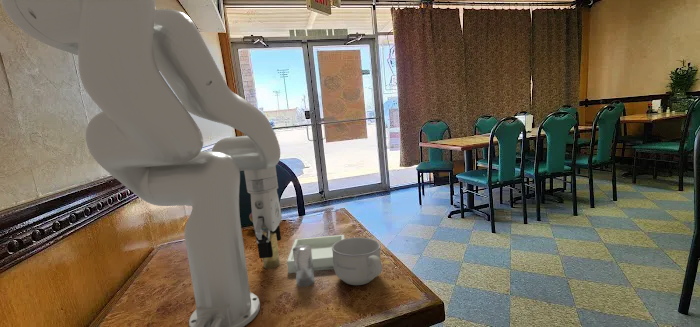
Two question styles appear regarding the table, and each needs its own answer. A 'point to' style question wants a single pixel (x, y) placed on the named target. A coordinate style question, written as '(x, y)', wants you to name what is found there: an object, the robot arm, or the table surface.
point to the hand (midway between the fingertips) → (271, 248)
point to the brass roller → (273, 260)
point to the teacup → (357, 260)
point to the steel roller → (303, 265)
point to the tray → (316, 252)
